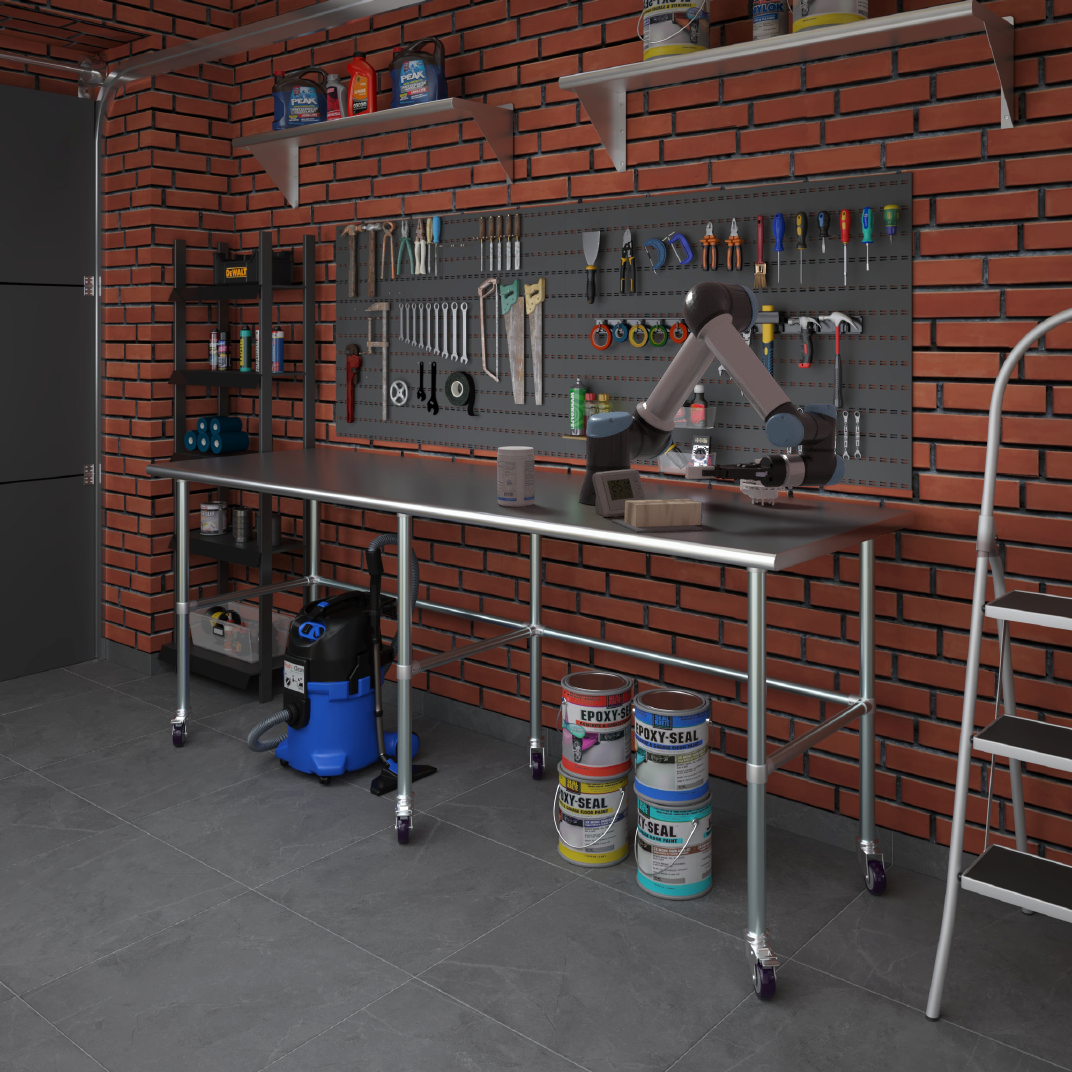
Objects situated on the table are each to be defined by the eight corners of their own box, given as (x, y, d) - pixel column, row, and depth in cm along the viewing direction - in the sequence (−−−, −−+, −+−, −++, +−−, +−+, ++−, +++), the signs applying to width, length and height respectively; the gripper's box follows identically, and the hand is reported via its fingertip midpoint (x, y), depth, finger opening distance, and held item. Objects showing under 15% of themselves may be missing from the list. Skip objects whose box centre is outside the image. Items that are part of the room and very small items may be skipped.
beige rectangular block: (689, 520, 242) (624, 522, 238) (689, 498, 241) (625, 500, 237) (701, 524, 235) (635, 527, 231) (702, 503, 234) (636, 504, 230)
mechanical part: (757, 507, 267) (759, 461, 265) (732, 501, 278) (733, 457, 276) (793, 506, 271) (796, 460, 269) (767, 500, 282) (769, 456, 280)
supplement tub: (526, 501, 273) (527, 445, 270) (539, 506, 264) (540, 448, 262) (491, 503, 270) (492, 446, 267) (503, 508, 261) (504, 449, 258)
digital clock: (603, 519, 245) (604, 474, 244) (581, 514, 253) (581, 470, 251) (656, 514, 254) (657, 471, 252) (633, 509, 261) (634, 467, 260)
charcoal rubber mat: (611, 521, 241) (611, 519, 241) (673, 519, 246) (673, 517, 246) (636, 532, 226) (636, 530, 226) (701, 530, 231) (702, 528, 230)
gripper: (793, 490, 237) (698, 492, 230) (765, 483, 249) (674, 485, 243) (795, 457, 236) (699, 458, 229) (767, 452, 248) (676, 453, 241)
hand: (687, 472), depth 236 cm, fingers closed
